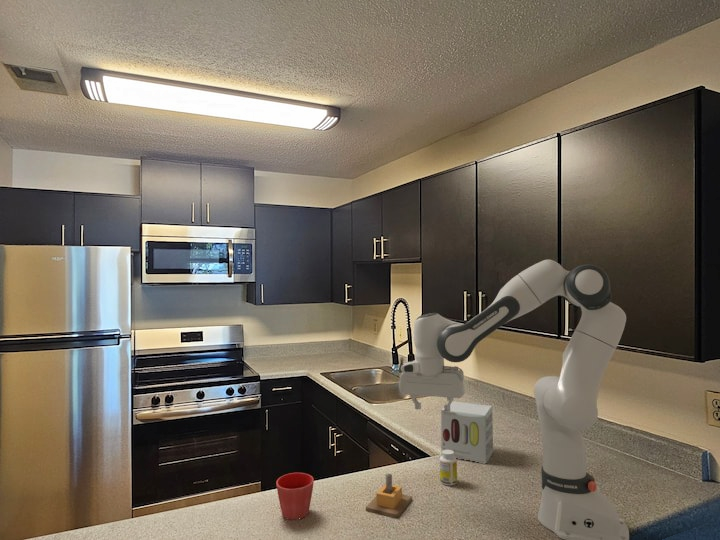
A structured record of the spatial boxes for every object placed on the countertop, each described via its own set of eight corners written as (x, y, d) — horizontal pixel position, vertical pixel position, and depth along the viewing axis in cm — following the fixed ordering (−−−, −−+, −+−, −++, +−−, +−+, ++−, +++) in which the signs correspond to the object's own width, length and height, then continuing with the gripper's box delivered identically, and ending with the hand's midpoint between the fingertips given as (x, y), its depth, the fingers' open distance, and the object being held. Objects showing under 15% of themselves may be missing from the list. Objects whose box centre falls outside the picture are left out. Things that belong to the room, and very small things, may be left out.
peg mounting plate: (411, 499, 142) (411, 470, 142) (397, 518, 131) (396, 486, 131) (382, 492, 147) (381, 464, 147) (365, 510, 136) (365, 480, 136)
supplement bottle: (454, 478, 156) (453, 448, 156) (459, 485, 151) (458, 454, 151) (438, 479, 156) (437, 448, 156) (442, 486, 150) (442, 455, 150)
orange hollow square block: (402, 498, 141) (401, 486, 141) (393, 508, 135) (393, 496, 135) (385, 494, 143) (385, 483, 143) (376, 505, 137) (376, 493, 137)
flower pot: (317, 519, 132) (317, 485, 132) (278, 526, 128) (278, 491, 129) (310, 501, 142) (310, 470, 142) (274, 507, 139) (274, 475, 139)
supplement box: (440, 457, 174) (439, 409, 175) (450, 445, 186) (449, 400, 186) (486, 465, 167) (485, 415, 167) (494, 452, 178) (493, 405, 178)
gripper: (465, 364, 142) (468, 409, 142) (403, 362, 151) (405, 404, 151) (460, 368, 136) (463, 415, 136) (396, 366, 145) (398, 410, 145)
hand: (432, 410), depth 143 cm, fingers open, 8 cm apart
